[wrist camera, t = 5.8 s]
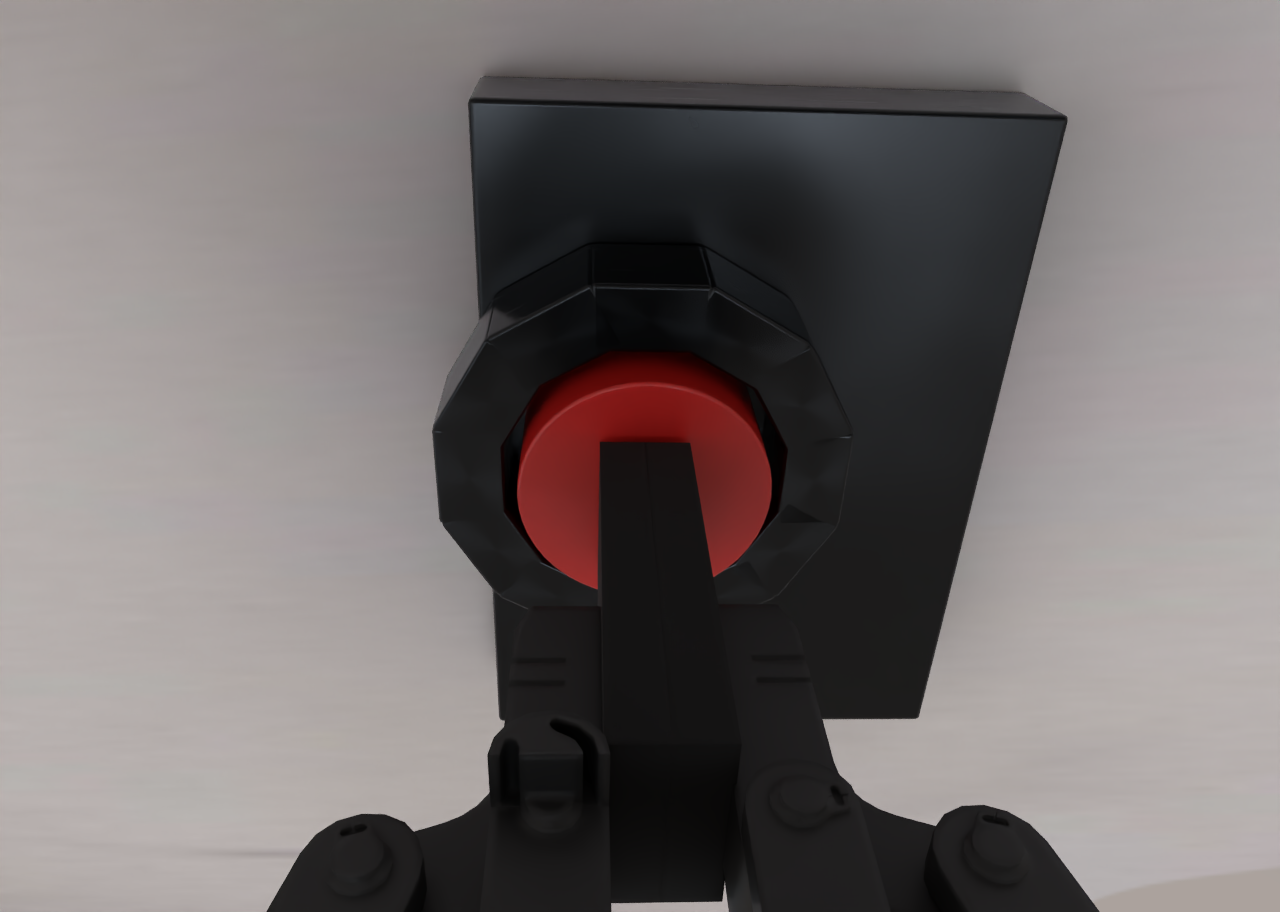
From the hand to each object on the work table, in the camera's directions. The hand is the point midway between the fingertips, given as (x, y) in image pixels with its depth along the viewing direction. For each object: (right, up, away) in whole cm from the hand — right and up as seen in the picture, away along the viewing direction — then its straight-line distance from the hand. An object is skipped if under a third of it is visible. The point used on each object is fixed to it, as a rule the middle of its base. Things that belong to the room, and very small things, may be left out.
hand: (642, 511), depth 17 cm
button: (0, +1, +2) cm, 3 cm away
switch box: (+2, +2, +5) cm, 5 cm away
